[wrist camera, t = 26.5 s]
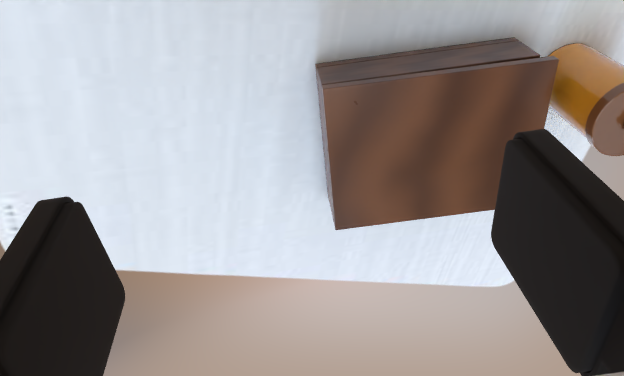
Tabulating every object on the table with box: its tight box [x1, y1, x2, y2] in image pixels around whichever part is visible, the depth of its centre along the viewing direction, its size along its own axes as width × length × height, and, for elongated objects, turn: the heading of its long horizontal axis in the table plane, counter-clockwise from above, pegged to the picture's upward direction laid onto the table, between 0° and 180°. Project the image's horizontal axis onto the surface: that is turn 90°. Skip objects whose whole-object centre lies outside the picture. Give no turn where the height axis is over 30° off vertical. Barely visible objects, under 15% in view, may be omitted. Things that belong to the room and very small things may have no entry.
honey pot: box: [548, 43, 624, 156], centre depth 37 cm, size 6×6×10 cm
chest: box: [315, 38, 540, 220], centre depth 40 cm, size 17×14×4 cm
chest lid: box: [322, 56, 559, 230], centre depth 38 cm, size 17×14×1 cm
